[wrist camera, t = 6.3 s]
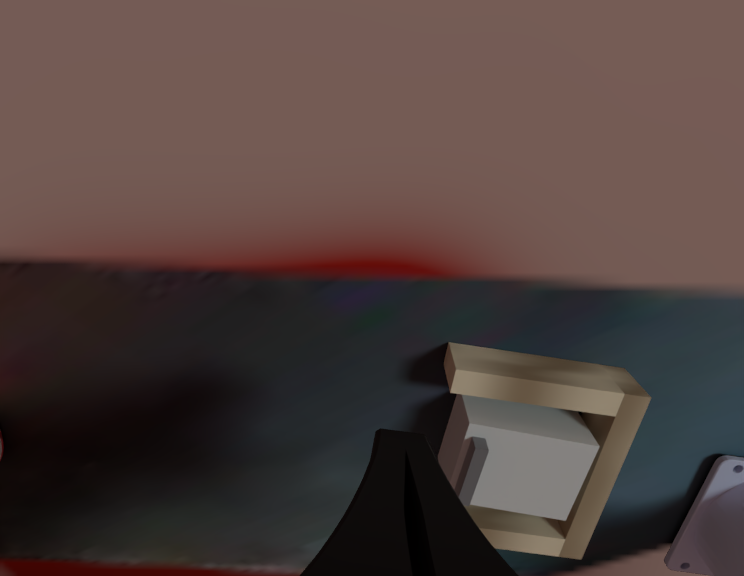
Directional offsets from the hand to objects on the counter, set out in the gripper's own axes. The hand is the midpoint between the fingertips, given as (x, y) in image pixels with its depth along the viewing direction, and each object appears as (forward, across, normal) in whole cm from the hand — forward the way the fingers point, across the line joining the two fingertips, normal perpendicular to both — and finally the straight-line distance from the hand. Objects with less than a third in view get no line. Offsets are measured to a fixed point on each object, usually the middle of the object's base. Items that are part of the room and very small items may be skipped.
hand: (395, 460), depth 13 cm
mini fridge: (+10, -7, +6) cm, 14 cm away
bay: (+10, -7, +6) cm, 14 cm away
